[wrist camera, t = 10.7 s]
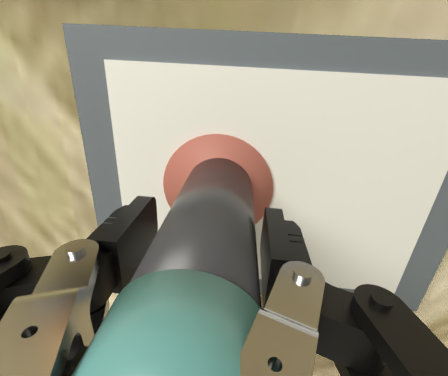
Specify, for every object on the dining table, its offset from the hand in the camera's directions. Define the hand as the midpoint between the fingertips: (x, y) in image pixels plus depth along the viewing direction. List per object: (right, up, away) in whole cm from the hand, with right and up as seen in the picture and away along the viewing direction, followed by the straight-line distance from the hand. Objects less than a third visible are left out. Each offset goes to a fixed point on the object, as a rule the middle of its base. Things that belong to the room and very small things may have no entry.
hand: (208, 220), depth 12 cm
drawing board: (+3, +2, +4) cm, 6 cm away
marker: (0, +1, +3) cm, 3 cm away
